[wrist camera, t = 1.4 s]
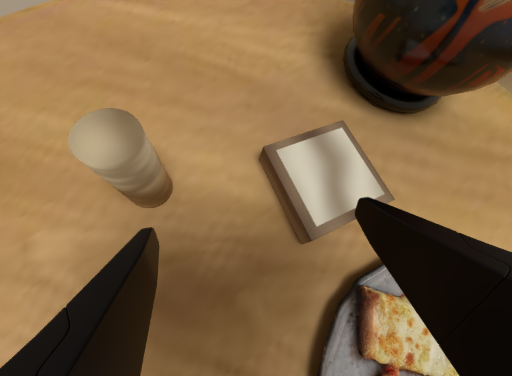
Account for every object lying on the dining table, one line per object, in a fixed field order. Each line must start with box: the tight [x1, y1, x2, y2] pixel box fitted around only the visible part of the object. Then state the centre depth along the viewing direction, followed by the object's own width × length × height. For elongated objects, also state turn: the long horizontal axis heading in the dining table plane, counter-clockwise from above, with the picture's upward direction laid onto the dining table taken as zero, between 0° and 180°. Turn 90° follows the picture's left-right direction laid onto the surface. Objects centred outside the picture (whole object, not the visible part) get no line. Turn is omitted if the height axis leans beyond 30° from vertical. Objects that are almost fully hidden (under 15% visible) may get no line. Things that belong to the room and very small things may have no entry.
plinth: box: [259, 120, 395, 244], centre depth 25 cm, size 11×11×3 cm
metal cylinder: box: [68, 108, 173, 208], centre depth 19 cm, size 4×4×10 cm
